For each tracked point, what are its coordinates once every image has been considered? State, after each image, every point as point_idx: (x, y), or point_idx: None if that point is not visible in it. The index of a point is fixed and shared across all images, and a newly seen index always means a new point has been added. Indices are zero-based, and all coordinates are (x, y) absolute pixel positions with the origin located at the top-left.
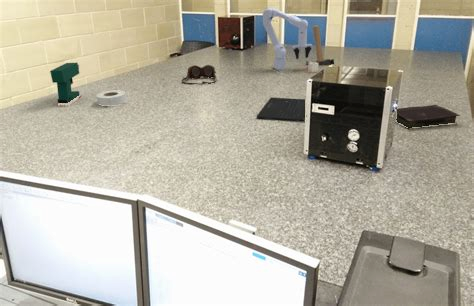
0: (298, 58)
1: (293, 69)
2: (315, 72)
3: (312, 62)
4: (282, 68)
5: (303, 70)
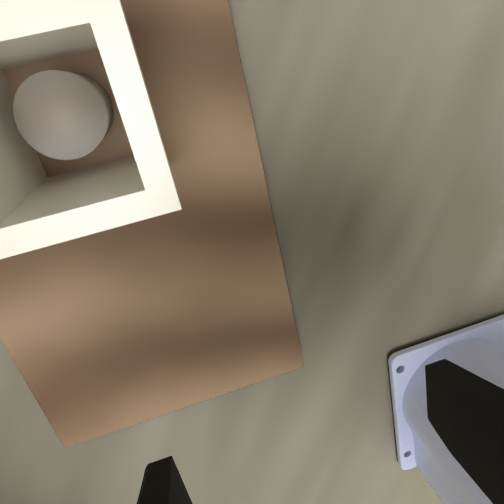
0: (433, 371)
1: (297, 406)
2: None
3: (56, 215)
4: (479, 354)
5: (230, 243)
